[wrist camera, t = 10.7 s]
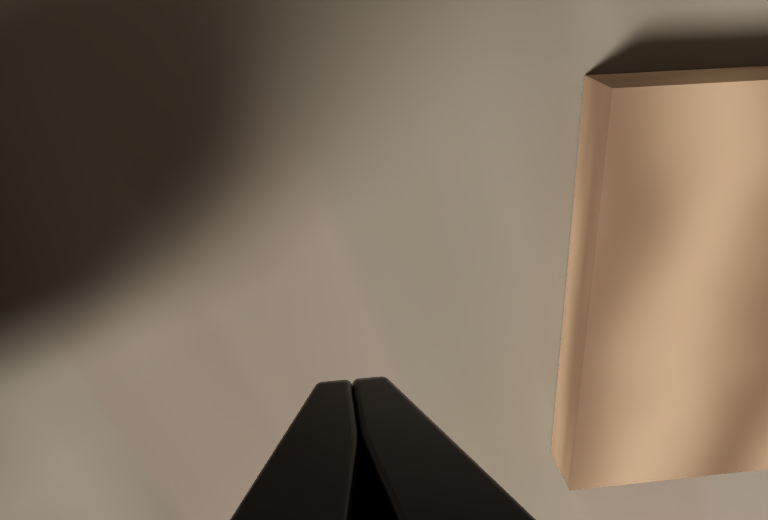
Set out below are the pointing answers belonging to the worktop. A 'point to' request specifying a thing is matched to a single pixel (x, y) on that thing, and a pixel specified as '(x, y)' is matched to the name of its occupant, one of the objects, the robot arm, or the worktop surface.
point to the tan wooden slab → (666, 280)
